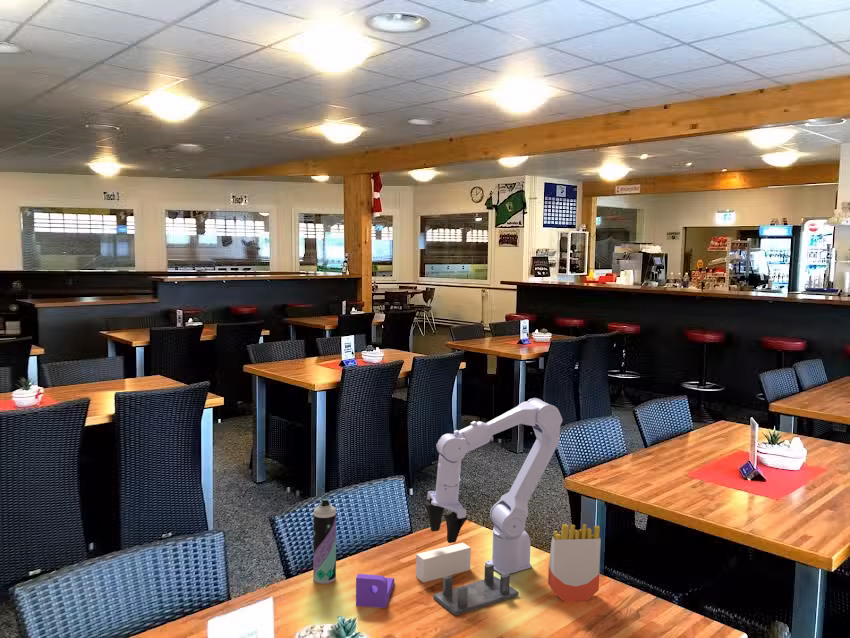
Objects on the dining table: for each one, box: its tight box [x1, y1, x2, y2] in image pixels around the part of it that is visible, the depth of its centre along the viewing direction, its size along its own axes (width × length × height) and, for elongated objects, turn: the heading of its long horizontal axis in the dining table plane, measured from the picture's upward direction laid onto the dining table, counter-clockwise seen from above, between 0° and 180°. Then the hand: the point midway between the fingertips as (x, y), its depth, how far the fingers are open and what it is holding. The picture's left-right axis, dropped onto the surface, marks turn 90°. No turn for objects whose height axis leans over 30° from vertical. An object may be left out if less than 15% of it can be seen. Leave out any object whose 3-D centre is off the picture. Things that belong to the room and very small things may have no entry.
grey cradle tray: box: [432, 564, 520, 617], centre depth 156 cm, size 18×9×5 cm, turn 121°
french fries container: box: [547, 523, 602, 602], centre depth 157 cm, size 5×11×18 cm, turn 95°
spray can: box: [312, 498, 337, 585], centre depth 163 cm, size 6×6×20 cm
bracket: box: [355, 573, 395, 609], centre depth 157 cm, size 12×7×7 cm, turn 173°
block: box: [415, 542, 472, 583], centre depth 168 cm, size 14×4×6 cm, turn 121°
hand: (443, 536), depth 167 cm, fingers open, 7 cm apart
